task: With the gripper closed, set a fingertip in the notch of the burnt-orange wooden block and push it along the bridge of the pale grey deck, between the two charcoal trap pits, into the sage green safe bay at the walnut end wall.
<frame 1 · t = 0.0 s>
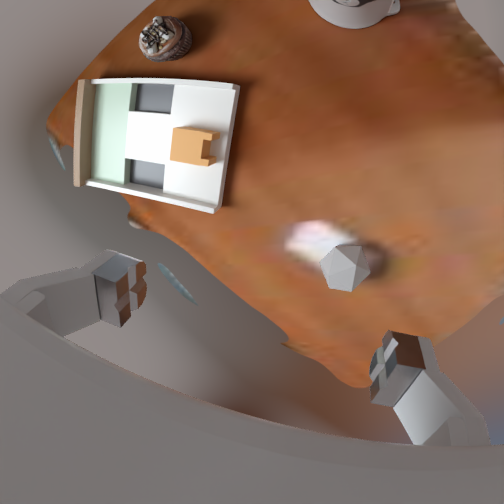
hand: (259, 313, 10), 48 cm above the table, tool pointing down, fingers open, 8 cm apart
cupcake: (174, 42, 48), on the table
block: (195, 143, 54), point 2 cm above the table, touching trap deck
die: (344, 257, 59), on the table
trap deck: (152, 135, 58), on the table
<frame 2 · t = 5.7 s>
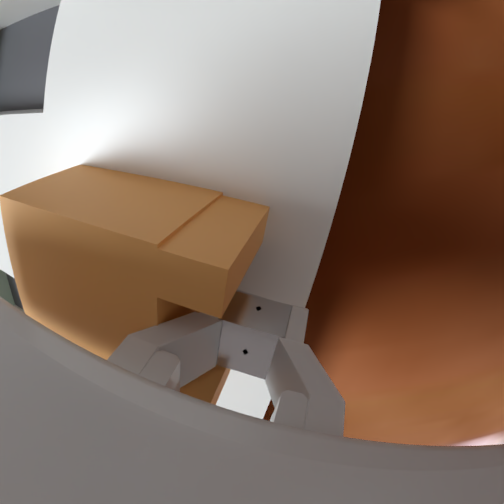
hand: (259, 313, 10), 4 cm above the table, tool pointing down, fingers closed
block: (139, 252, 11), point 2 cm above the table, touching gripper, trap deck
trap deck: (27, 189, 15), on the table
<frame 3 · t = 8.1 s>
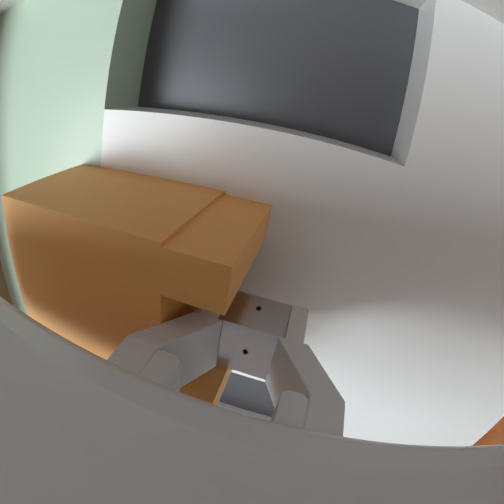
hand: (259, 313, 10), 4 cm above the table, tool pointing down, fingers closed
block: (141, 251, 11), point 3 cm above the table, touching gripper, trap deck
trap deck: (235, 241, 13), on the table
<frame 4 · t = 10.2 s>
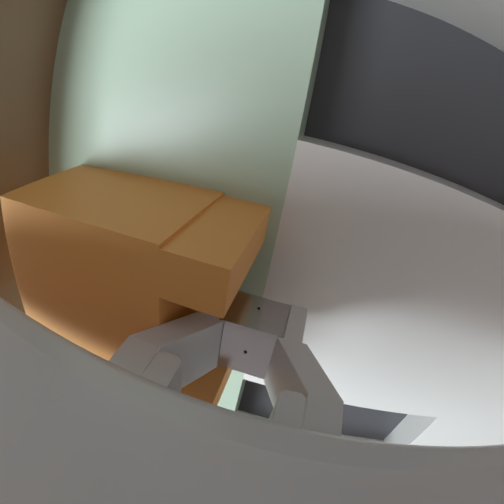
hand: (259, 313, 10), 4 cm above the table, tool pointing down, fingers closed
block: (140, 252, 11), point 2 cm above the table, touching gripper, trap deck
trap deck: (390, 287, 12), on the table
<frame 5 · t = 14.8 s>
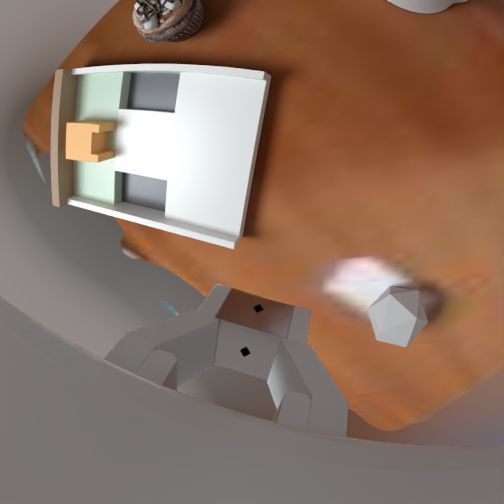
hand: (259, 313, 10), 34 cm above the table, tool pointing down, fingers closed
cupcake: (181, 19, 34), on the table
block: (94, 138, 43), point 2 cm above the table, touching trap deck
die: (394, 300, 45), on the table
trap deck: (150, 141, 44), on the table
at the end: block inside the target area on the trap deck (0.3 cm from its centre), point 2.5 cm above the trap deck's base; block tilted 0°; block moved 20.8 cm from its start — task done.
